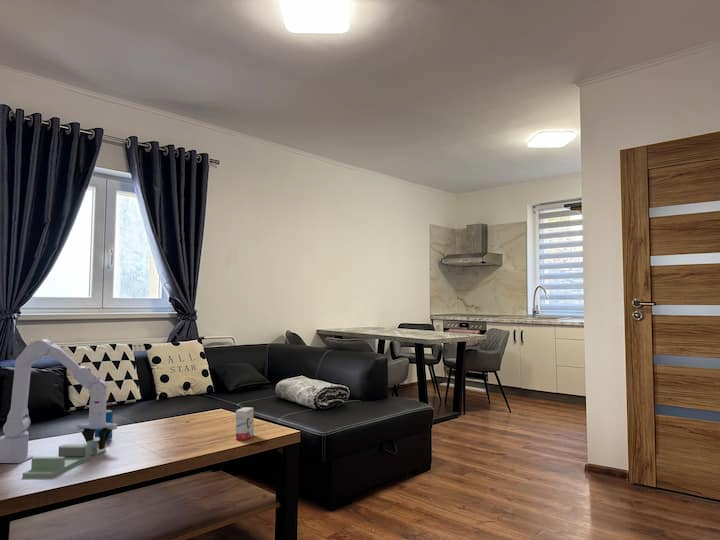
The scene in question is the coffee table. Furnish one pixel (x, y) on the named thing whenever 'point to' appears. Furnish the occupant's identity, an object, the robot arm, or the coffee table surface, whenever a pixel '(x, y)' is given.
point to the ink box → (244, 423)
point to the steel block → (95, 446)
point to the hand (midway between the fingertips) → (96, 448)
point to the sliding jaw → (74, 450)
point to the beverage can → (108, 420)
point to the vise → (52, 466)
